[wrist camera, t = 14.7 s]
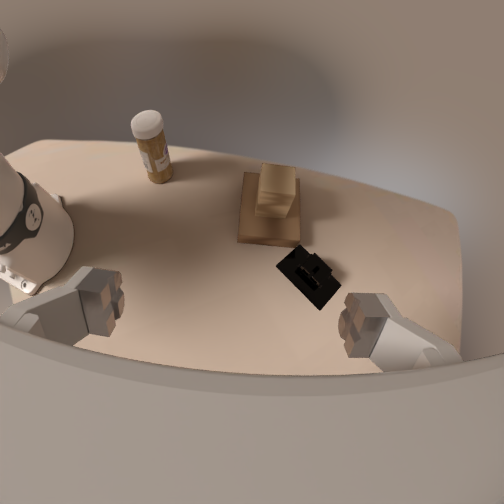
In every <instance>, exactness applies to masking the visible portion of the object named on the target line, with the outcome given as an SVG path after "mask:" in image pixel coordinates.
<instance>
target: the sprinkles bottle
mask: <svg viewBox="0 0 504 504" xmlns="http://www.w3.org/2000/svg"><path fill="white" fill-rule="evenodd" d="M131 129H132V132H133V135H134V136H135V138H136V140H137V144H138V148H139V151H140V154H141V157H142V160H143V163H144V165H145V168H146V169H147V172H148V178H149V179H150V181H152V182H153V183H158V184H160V183H163V182H165V181H167V180H169V179H170V177H171V176H172V173H173V169H172V167H171V163H170V157H169V153H168V148H167V144H166V141H165V136H164V132H163V120H162V116H161V114H160V113H159V112H157V111H154V110H147V111H143V112H141V113H139V114H137V115H136V116H135V117H134V118H133V119H132V121H131Z"/></svg>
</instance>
